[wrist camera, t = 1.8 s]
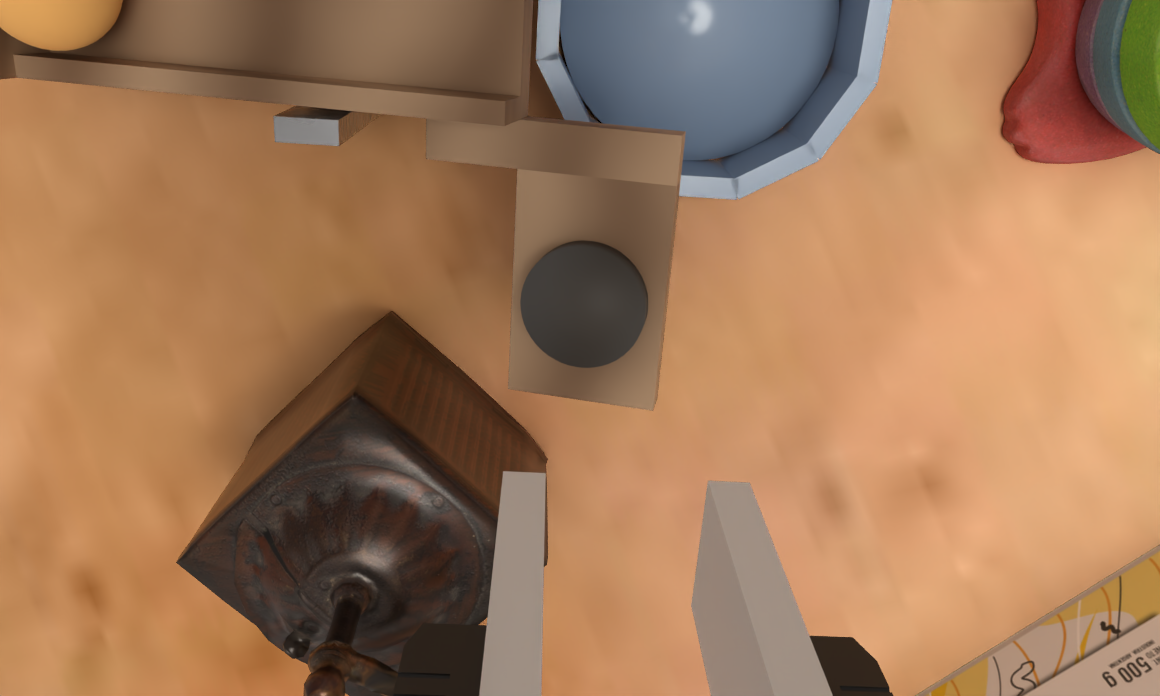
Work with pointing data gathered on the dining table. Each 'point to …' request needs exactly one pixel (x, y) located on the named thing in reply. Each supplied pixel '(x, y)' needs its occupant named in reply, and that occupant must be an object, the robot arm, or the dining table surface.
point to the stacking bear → (1088, 83)
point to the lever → (444, 150)
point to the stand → (319, 125)
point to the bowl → (718, 77)
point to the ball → (58, 21)
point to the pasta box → (1078, 645)
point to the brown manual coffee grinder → (366, 511)
